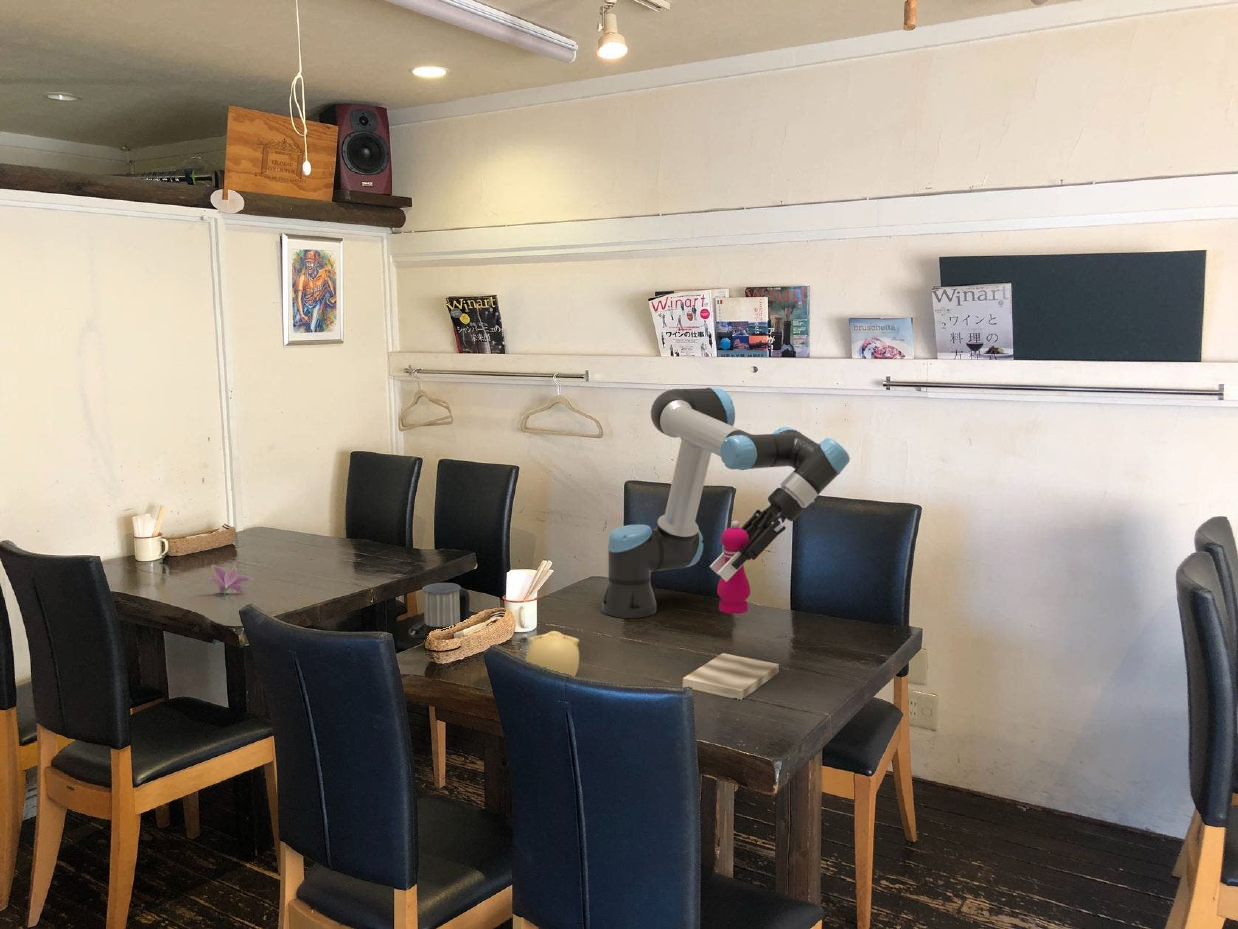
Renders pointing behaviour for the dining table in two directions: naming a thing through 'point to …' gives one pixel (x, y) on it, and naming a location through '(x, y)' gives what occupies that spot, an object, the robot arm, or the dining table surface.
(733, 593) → the pepper mill
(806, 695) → the dining table surface
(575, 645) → the sculpture
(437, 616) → the milk frother
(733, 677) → the serving board
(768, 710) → the dining table surface
